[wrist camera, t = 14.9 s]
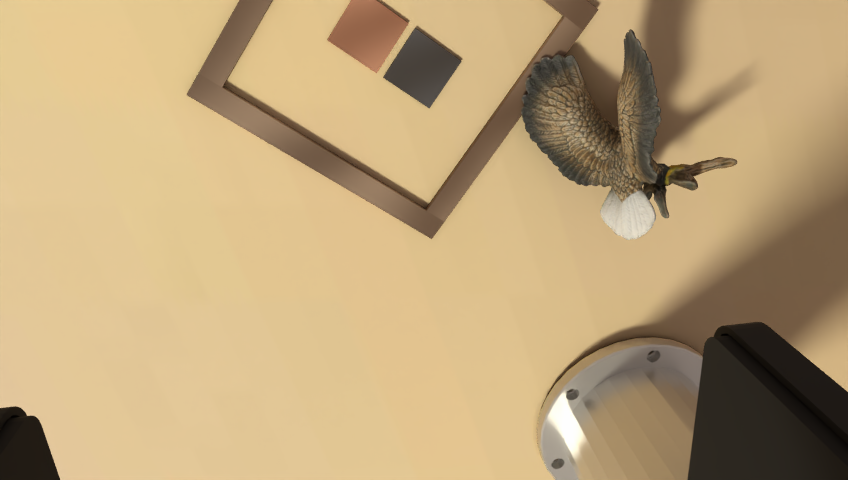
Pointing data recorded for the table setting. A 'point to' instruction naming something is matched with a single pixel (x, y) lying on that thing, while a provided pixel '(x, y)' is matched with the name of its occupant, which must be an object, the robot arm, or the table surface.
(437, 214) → the frame
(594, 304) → the table surface
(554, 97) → the eagle figurine
